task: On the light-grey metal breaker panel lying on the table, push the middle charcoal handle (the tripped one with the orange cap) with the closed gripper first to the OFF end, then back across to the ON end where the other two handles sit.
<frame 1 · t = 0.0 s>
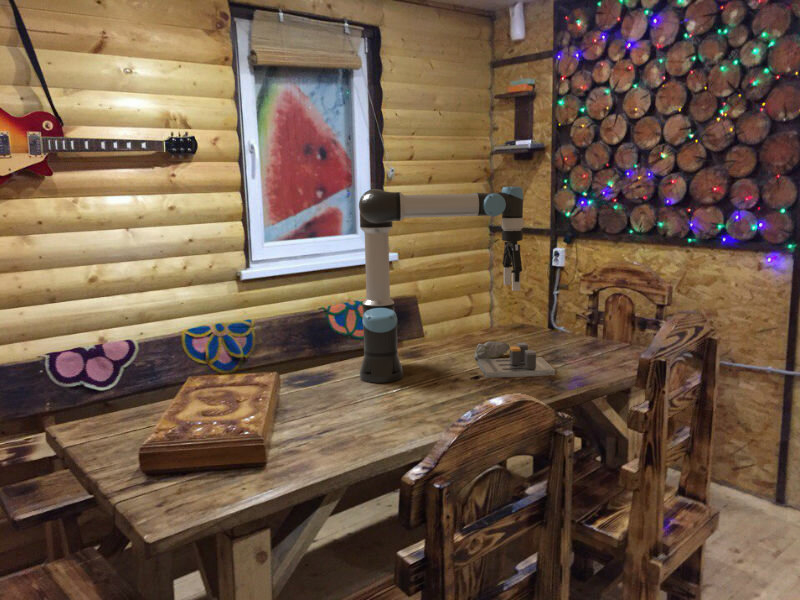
hand: (511, 287, 240), 28 cm above the table, fingers open, 13 cm apart
panel: (515, 369, 233), on the table
breaker middle: (515, 355, 232), point 5 cm above the table, slide at 0.0 cm
breaker near: (530, 359, 227), point 5 cm above the table, slide at 4.0 cm
breaker far: (522, 351, 238), point 5 cm above the table, slide at 4.0 cm
mineral specimen: (488, 359, 250), on the table
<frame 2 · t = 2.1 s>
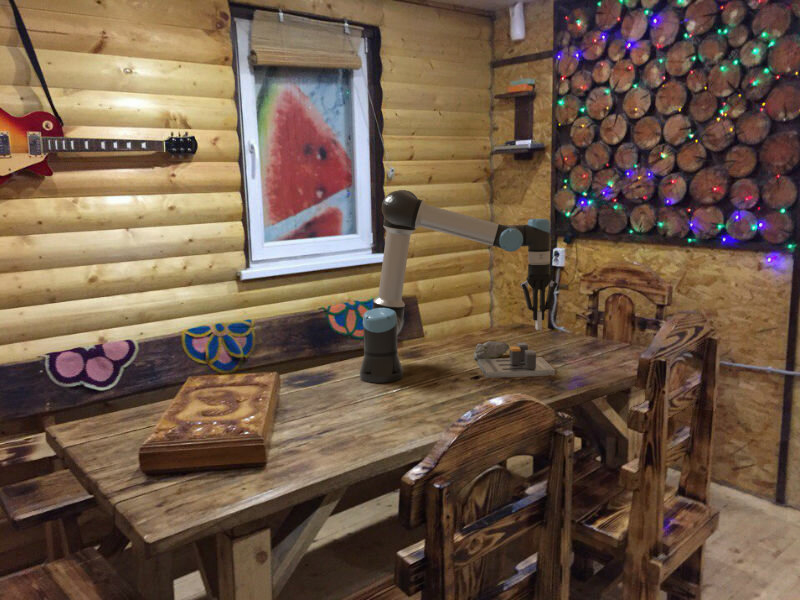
hand: (538, 329, 231), 15 cm above the table, fingers closed
nothing on the table moved.
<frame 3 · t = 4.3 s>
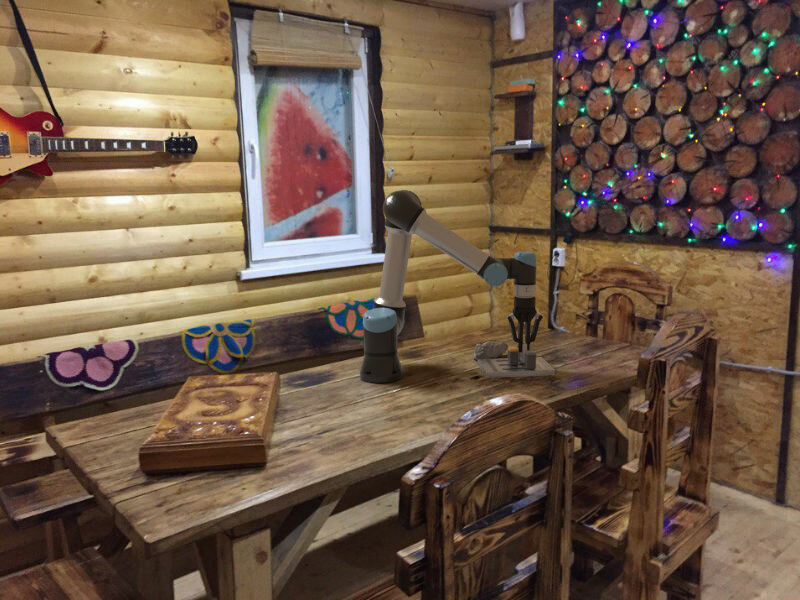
hand: (523, 360, 233), 3 cm above the table, fingers closed
breaker middle: (513, 355, 232), point 5 cm above the table, slide at -0.8 cm, touching gripper
everything else where it was.
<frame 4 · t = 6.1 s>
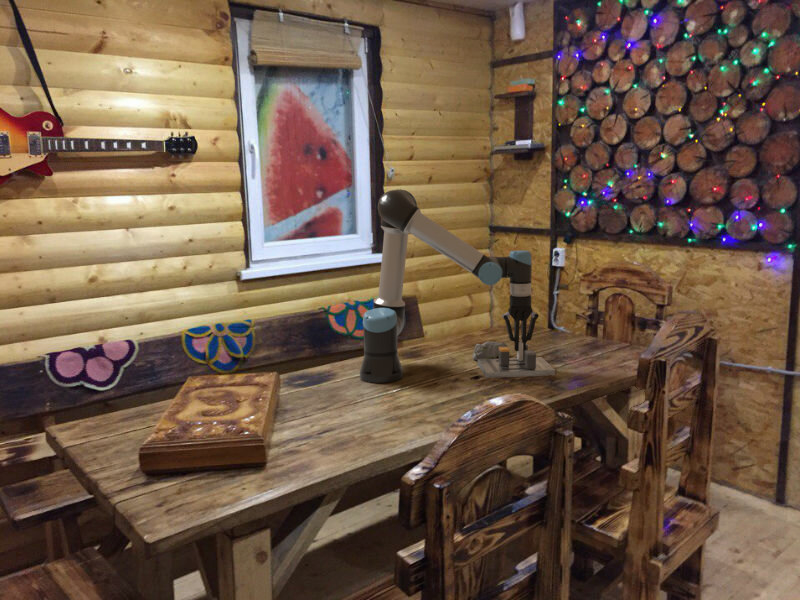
hand: (520, 359, 233), 4 cm above the table, fingers closed
breaker middle: (504, 356, 232), point 5 cm above the table, slide at -4.0 cm
everything else where it was.
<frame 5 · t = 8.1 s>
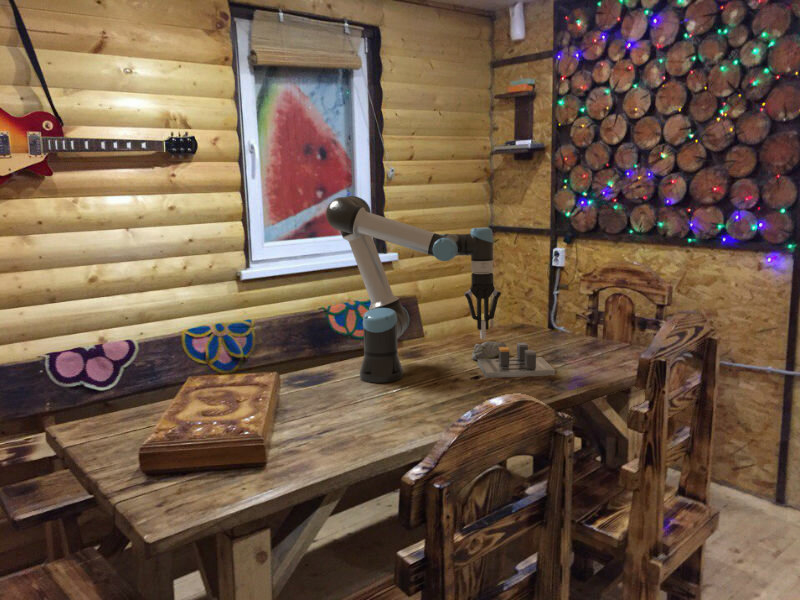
hand: (482, 338, 230), 12 cm above the table, fingers closed
nothing on the table moved.
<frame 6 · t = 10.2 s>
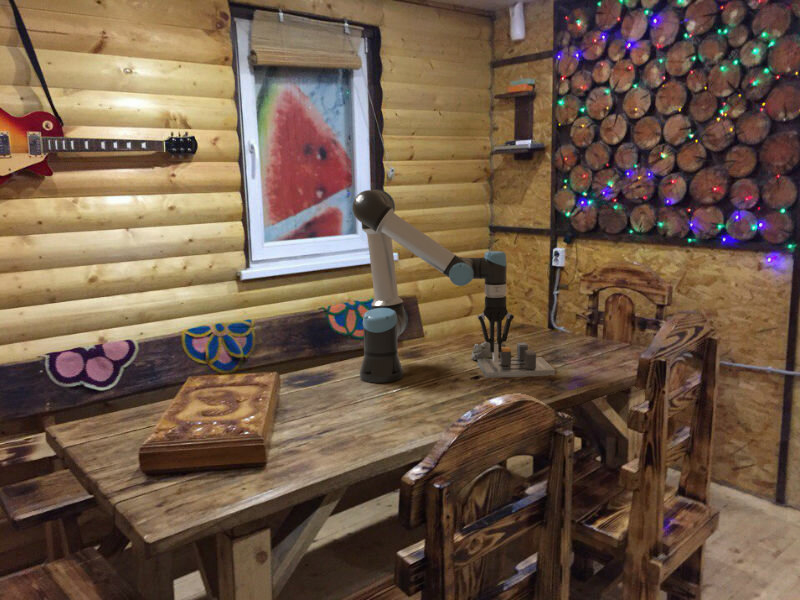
hand: (495, 360, 232), 4 cm above the table, fingers closed
breaker middle: (505, 356, 232), point 5 cm above the table, slide at -3.5 cm, touching gripper
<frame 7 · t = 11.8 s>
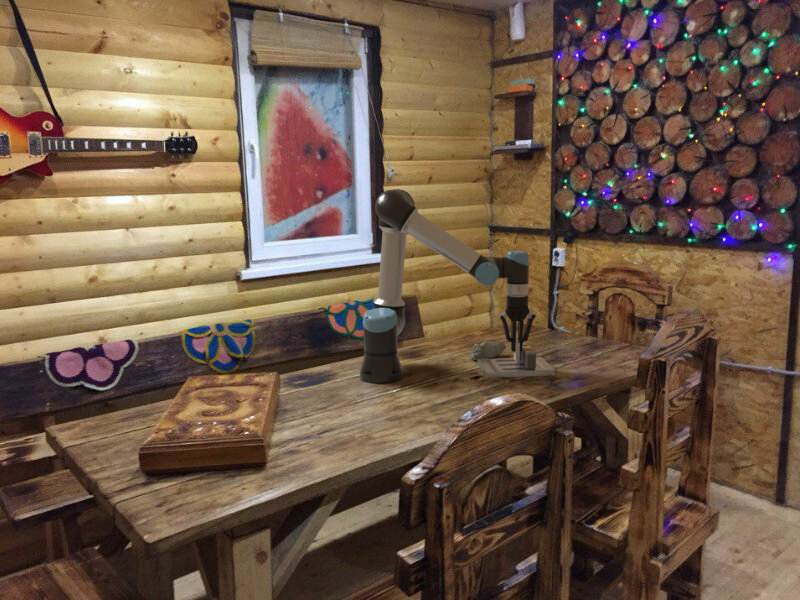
hand: (516, 360, 233), 4 cm above the table, fingers closed
breaker middle: (526, 355, 233), point 5 cm above the table, slide at 4.2 cm, touching gripper
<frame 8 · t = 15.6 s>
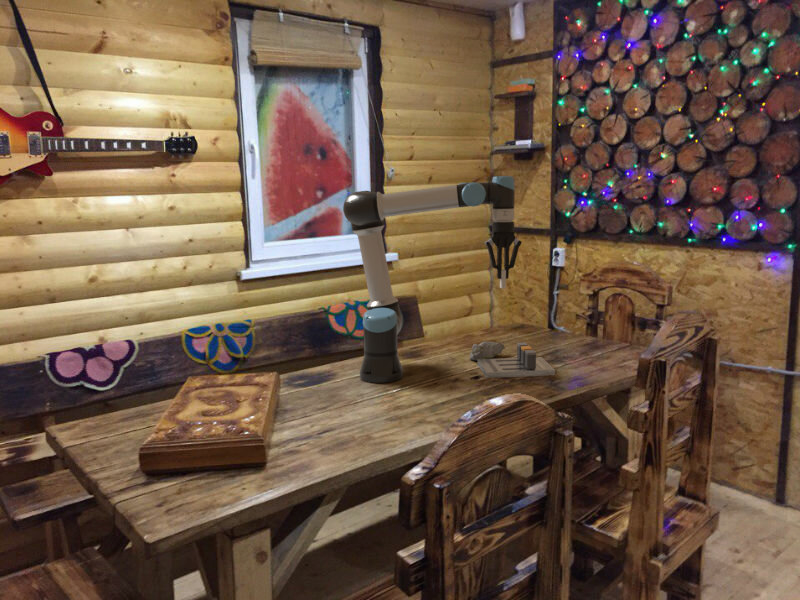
hand: (502, 287, 231), 29 cm above the table, fingers closed
breaker middle: (526, 355, 233), point 5 cm above the table, slide at 4.0 cm
at the end: breaker middle slide at 4.0 cm; breaker near slide at 4.0 cm; breaker far slide at 4.0 cm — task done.
